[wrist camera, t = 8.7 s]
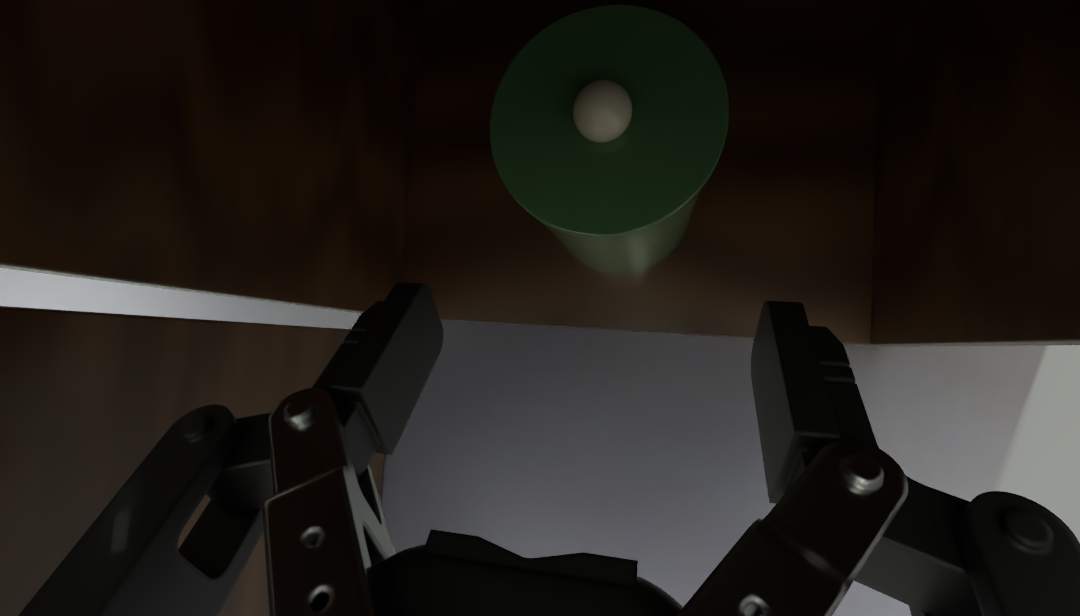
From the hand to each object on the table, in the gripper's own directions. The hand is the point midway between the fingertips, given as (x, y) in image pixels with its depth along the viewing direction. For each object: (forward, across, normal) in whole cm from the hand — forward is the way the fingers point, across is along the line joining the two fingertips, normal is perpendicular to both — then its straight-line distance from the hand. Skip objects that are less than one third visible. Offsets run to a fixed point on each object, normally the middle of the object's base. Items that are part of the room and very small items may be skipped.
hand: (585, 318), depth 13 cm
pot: (+11, 0, +3) cm, 11 cm away
